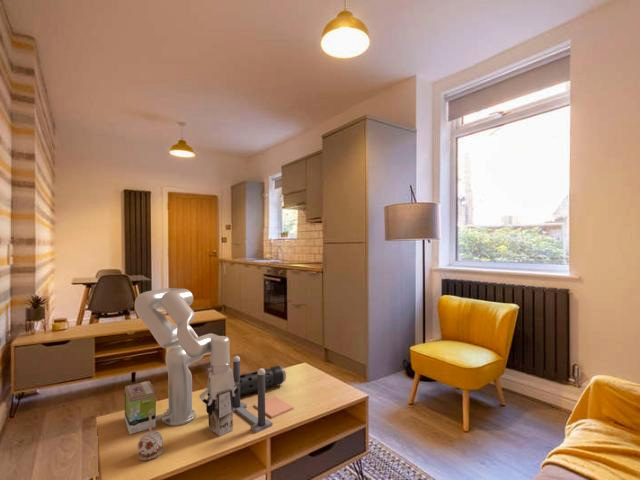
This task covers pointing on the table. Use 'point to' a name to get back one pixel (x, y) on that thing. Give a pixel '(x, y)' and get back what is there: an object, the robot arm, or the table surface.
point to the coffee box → (222, 413)
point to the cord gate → (239, 407)
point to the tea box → (139, 406)
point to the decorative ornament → (150, 443)
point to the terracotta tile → (275, 407)
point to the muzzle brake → (272, 378)
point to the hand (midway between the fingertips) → (220, 409)
